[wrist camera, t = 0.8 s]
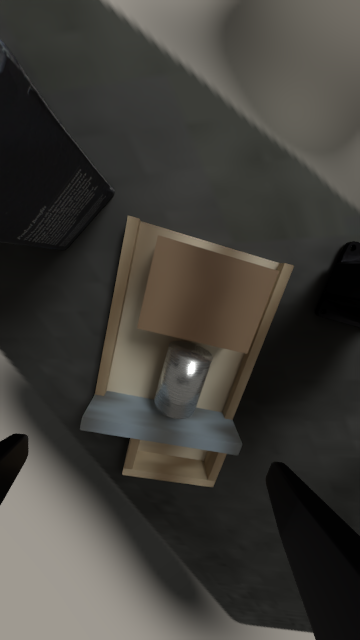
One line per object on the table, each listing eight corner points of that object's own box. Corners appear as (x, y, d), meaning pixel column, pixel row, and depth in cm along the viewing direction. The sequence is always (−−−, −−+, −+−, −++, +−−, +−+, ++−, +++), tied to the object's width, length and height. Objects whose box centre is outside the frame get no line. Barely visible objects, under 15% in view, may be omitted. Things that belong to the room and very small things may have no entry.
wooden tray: (283, 265, 17) (319, 266, 13) (207, 462, 22) (216, 504, 18) (131, 219, 15) (119, 203, 11) (88, 443, 20) (69, 486, 16)
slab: (255, 269, 16) (279, 271, 13) (231, 337, 18) (247, 354, 14) (160, 241, 15) (157, 235, 12) (143, 315, 17) (136, 328, 13)
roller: (202, 344, 18) (220, 364, 15) (187, 390, 19) (201, 419, 16) (164, 338, 17) (175, 359, 14) (151, 388, 18) (157, 418, 15)
